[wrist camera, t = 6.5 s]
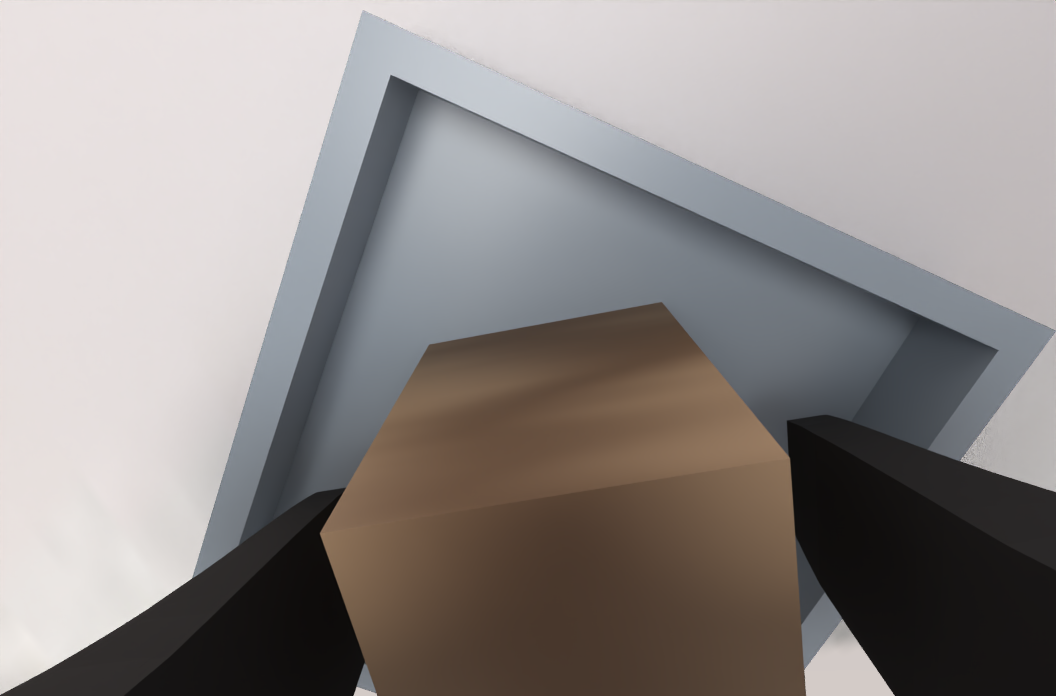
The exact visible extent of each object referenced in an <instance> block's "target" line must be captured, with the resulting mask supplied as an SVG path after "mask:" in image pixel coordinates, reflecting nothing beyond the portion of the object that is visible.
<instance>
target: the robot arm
mask: <svg viewBox="0 0 1056 696" xmlns="http://www.w3.org/2000/svg"><path fill="white" fill-rule="evenodd" d="M787 437H788V456H789V458H790V466H791V481H792V496H793V510H794V525H795V536H796V538H797V540H798V542H799V544H800V546H801V548H802V551H803V553H804V555H805V557H806V559H807V561H808V563H809V565H810V567H811V568H812V570H813V572H814V574H815V576H816V578H817V580H818V582H819V584H820V586H821V587H822V589H823V590H824V592H825V593H826V595H827V596H828V598H829V599H830V601H831V602H832V604H833V605H834V607H835V608H836V610H837V611H838V613H839V614H840V616H841V617H842V619H843V620H844V622H845V623H846V625H847V626H848V628H849V629H850V631H851V632H852V634H853V635H854V637H855V638H856V639H857V641H858V642H859V644H860V645H861V647H862V648H863V650H864V651H865V653H866V654H867V656H868V657H869V658H870V660H871V661H872V663H873V664H874V666H875V667H876V669H877V670H878V672H879V673H880V675H881V676H882V678H883V679H884V681H885V682H886V683H887V685H888V686H889V688H890V689H891V691H892V692H893V694H894V695H895V696H1056V492H1053V491H1050V490H1047V489H1043V488H1040V487H1037V486H1034V485H1031V484H1028V483H1024V482H1021V481H1018V480H1015V479H1012V478H1009V477H1005V476H1002V475H999V474H996V473H993V472H990V471H987V470H984V469H981V468H978V467H975V466H972V465H969V464H966V463H963V462H961V461H958V460H955V459H952V458H949V457H947V456H944V455H941V454H938V453H935V452H933V451H930V450H927V449H925V448H922V447H919V446H916V445H914V444H911V443H908V442H906V441H903V440H900V439H898V438H895V437H892V436H889V435H887V434H884V433H881V432H879V431H876V430H873V429H871V428H868V427H865V426H862V425H859V424H857V423H854V422H851V421H848V420H845V419H841V418H838V417H834V416H830V415H819V416H812V417H806V418H799V419H793V420H787ZM345 489H346V488H340V489H334V490H327V491H321V492H316V493H314V494H312V495H311V496H309V497H307V498H305V499H304V500H302V501H300V502H299V503H297V504H296V505H294V506H293V507H291V508H290V509H289V510H287V511H286V512H284V513H283V514H281V515H280V516H279V517H277V518H276V519H274V520H273V521H272V522H270V523H269V524H267V525H266V526H265V527H263V528H262V529H261V530H259V531H258V532H257V533H255V534H254V535H252V536H251V537H250V538H248V539H247V540H246V541H244V542H243V543H241V544H240V545H239V546H237V547H236V548H235V549H233V550H232V551H230V552H229V553H228V554H226V555H225V556H224V557H222V558H221V559H219V560H218V561H217V562H215V563H214V564H213V565H211V566H210V567H208V568H207V569H205V570H204V571H203V572H201V573H200V574H198V575H197V576H195V577H194V578H192V579H191V580H189V581H188V582H187V583H185V584H184V585H182V586H181V587H179V588H178V589H176V590H175V591H173V592H172V593H171V594H169V595H168V596H166V597H165V598H163V599H162V600H160V601H159V602H157V603H156V604H155V605H153V606H152V607H150V608H149V609H147V610H146V611H144V612H143V613H141V614H139V615H138V616H136V617H135V618H133V619H132V620H130V621H129V622H127V623H125V624H124V625H122V626H121V627H119V628H117V629H116V630H114V631H113V632H111V633H109V634H108V635H106V636H105V637H103V638H101V639H99V640H98V641H96V642H94V643H93V644H91V645H89V646H88V647H86V648H84V649H83V650H81V651H79V652H78V653H76V654H74V655H73V656H71V657H69V658H67V659H66V660H64V661H62V662H61V663H59V664H57V665H55V666H54V667H52V668H50V669H48V670H47V671H45V672H43V673H41V674H39V675H37V676H35V677H33V678H32V679H30V680H28V681H26V682H24V683H22V684H20V685H18V686H16V687H15V688H13V689H11V690H9V691H7V692H5V693H3V694H1V695H0V696H353V695H354V692H355V690H356V687H357V684H358V681H359V678H360V675H361V672H362V669H363V666H364V663H365V659H364V656H363V654H362V651H361V648H360V645H359V642H358V640H357V637H356V634H355V631H354V628H353V625H352V623H351V620H350V617H349V614H348V611H347V609H346V606H345V603H344V600H343V597H342V594H341V592H340V589H339V586H338V583H337V580H336V578H335V575H334V572H333V569H332V566H331V563H330V561H329V558H328V555H327V552H326V549H325V547H324V544H323V541H322V538H321V535H320V532H321V530H322V529H323V527H324V525H325V524H326V522H327V520H328V518H329V517H330V515H331V513H332V511H333V510H334V508H335V506H336V505H337V503H338V501H339V499H340V498H341V496H342V494H343V492H344V491H345Z"/></svg>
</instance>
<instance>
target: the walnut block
mask: <svg viewBox="0 0 1056 696" xmlns="http://www.w3.org/2000/svg"><path fill="white" fill-rule="evenodd" d="M320 535H321V538H322V541H323V544H324V547H325V549H326V552H327V555H328V558H329V561H330V563H331V566H332V569H333V572H334V575H335V578H336V580H337V583H338V586H339V589H340V592H341V594H342V597H343V600H344V603H345V606H346V609H347V611H348V614H349V617H350V620H351V623H352V625H353V628H354V631H355V634H356V637H357V640H358V642H359V645H360V648H361V651H362V654H363V656H364V659H365V662H366V665H367V668H368V670H369V673H370V676H371V679H372V682H373V685H374V687H375V690H376V693H377V696H806V690H805V675H804V660H803V645H802V630H801V615H800V600H799V585H798V570H797V555H796V540H795V525H794V510H793V496H792V481H791V466H790V458H789V456H788V455H787V454H786V453H785V451H784V450H783V449H782V448H781V447H780V445H779V444H778V443H777V442H776V440H775V439H774V438H773V437H772V436H771V434H770V433H769V432H768V431H767V430H766V428H765V427H764V426H763V425H762V423H761V422H760V421H759V420H758V419H757V417H756V416H755V415H754V414H753V412H752V411H751V410H750V409H749V408H748V406H747V405H746V404H745V403H744V401H743V400H742V399H741V398H740V397H739V395H738V394H737V393H736V392H735V391H734V389H733V388H732V387H731V386H730V384H729V383H728V382H727V381H726V380H725V378H724V377H723V376H722V375H721V373H720V372H719V371H718V370H717V369H716V367H715V366H714V365H713V364H712V362H711V361H710V360H709V359H708V358H707V356H706V355H705V354H704V353H703V352H702V350H701V349H700V348H699V347H698V345H697V344H696V343H695V342H694V341H693V339H692V338H691V337H690V336H689V334H688V333H687V332H686V331H685V330H684V328H683V327H682V326H681V325H680V324H679V322H678V321H677V320H676V319H675V317H674V316H673V315H672V314H671V313H670V311H669V310H668V309H667V308H666V306H665V305H664V304H663V303H662V302H659V303H653V304H648V305H642V306H637V307H631V308H626V309H621V310H615V311H610V312H604V313H599V314H593V315H588V316H582V317H577V318H571V319H566V320H560V321H555V322H550V323H544V324H539V325H533V326H528V327H522V328H517V329H511V330H506V331H500V332H495V333H489V334H484V335H479V336H473V337H468V338H462V339H457V340H451V341H446V342H440V343H435V344H429V346H428V347H427V349H426V351H425V353H424V354H423V356H422V358H421V359H420V361H419V363H418V365H417V366H416V368H415V370H414V372H413V373H412V375H411V377H410V378H409V380H408V382H407V384H406V385H405V387H404V389H403V391H402V392H401V394H400V396H399V397H398V399H397V401H396V403H395V404H394V406H393V408H392V410H391V411H390V413H389V415H388V416H387V418H386V420H385V422H384V423H383V425H382V427H381V429H380V430H379V432H378V434H377V435H376V437H375V439H374V441H373V442H372V444H371V446H370V448H369V449H368V451H367V453H366V454H365V456H364V458H363V460H362V461H361V463H360V465H359V467H358V468H357V470H356V472H355V473H354V475H353V477H352V479H351V480H350V482H349V484H348V486H347V487H346V489H345V491H344V492H343V494H342V496H341V498H340V499H339V501H338V503H337V505H336V506H335V508H334V510H333V511H332V513H331V515H330V517H329V518H328V520H327V522H326V524H325V525H324V527H323V529H322V530H321V532H320Z"/></svg>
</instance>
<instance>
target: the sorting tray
mask: <svg viewBox="0 0 1056 696" xmlns="http://www.w3.org/2000/svg"><path fill="white" fill-rule="evenodd" d="M659 302H662V303H663V304H664V305H665V306H666V308H667V309H668V310H669V311H670V313H671V314H672V315H673V316H674V317H675V319H676V320H677V321H678V322H679V324H680V325H681V326H682V327H683V328H684V330H685V331H686V332H687V333H688V334H689V336H690V337H691V338H692V339H693V341H694V342H695V343H696V344H697V345H698V347H699V348H700V349H701V350H702V352H703V353H704V354H705V355H706V356H707V358H708V359H709V360H710V361H711V362H712V364H713V365H714V366H715V367H716V369H717V370H718V371H719V372H720V373H721V375H722V376H723V377H724V378H725V380H726V381H727V382H728V383H729V384H730V386H731V387H732V388H733V389H734V391H735V392H736V393H737V394H738V395H739V397H740V398H741V399H742V400H743V401H744V403H745V404H746V405H747V406H748V408H749V409H750V410H751V411H752V412H753V414H754V415H755V416H756V417H757V419H758V420H759V421H760V422H761V423H762V425H763V426H764V427H765V428H766V430H767V431H768V432H769V433H770V434H771V436H772V437H773V438H774V439H775V440H776V442H777V443H778V444H779V445H780V447H781V448H782V449H783V450H784V451H785V453H786V454H787V455H788V437H787V420H793V419H799V418H806V417H812V416H819V415H830V416H834V417H838V418H841V419H845V420H848V421H851V422H854V423H857V424H859V425H862V426H865V427H868V428H871V429H873V430H876V431H879V432H881V433H884V434H887V435H889V436H892V437H895V438H898V439H900V440H903V441H906V442H908V443H911V444H914V445H916V446H919V447H922V448H925V449H927V450H930V451H933V452H935V453H938V454H941V455H944V456H947V457H949V458H952V459H955V460H958V461H960V460H961V458H962V457H963V456H964V454H965V453H966V452H967V450H968V449H969V448H970V446H971V445H972V443H973V442H974V441H975V439H976V438H977V437H978V435H979V434H980V433H981V431H982V430H983V429H984V427H985V426H986V425H987V423H988V422H989V421H990V419H991V418H992V417H993V415H994V414H995V413H996V411H997V410H998V408H999V407H1000V406H1001V404H1002V403H1003V402H1004V400H1005V399H1006V398H1007V396H1008V395H1009V394H1010V392H1011V391H1012V390H1013V388H1014V387H1015V386H1016V384H1017V383H1018V382H1019V380H1020V379H1021V378H1022V376H1023V375H1024V374H1025V372H1026V371H1027V369H1028V368H1029V367H1030V365H1031V364H1032V363H1033V361H1034V360H1035V359H1036V357H1037V356H1038V355H1039V353H1040V352H1041V351H1042V349H1043V348H1044V347H1045V345H1046V344H1047V343H1048V341H1049V340H1050V339H1051V337H1052V336H1053V334H1054V333H1055V332H1056V331H1055V330H1053V329H1051V328H1048V327H1046V326H1044V325H1042V324H1040V323H1038V322H1035V321H1033V320H1031V319H1029V318H1027V317H1025V316H1023V315H1020V314H1018V313H1016V312H1014V311H1012V310H1010V309H1007V308H1005V307H1003V306H1001V305H999V304H997V303H994V302H992V301H990V300H988V299H986V298H984V297H982V296H979V295H977V294H975V293H973V292H971V291H969V290H966V289H964V288H962V287H960V286H958V285H956V284H953V283H951V282H949V281H947V280H945V279H943V278H940V277H938V276H936V275H934V274H932V273H930V272H928V271H925V270H923V269H921V268H919V267H917V266H915V265H912V264H910V263H908V262H906V261H904V260H902V259H899V258H897V257H895V256H893V255H891V254H889V253H887V252H884V251H882V250H880V249H878V248H876V247H874V246H871V245H869V244H867V243H865V242H863V241H861V240H858V239H856V238H854V237H852V236H850V235H848V234H845V233H843V232H841V231H839V230H837V229H835V228H833V227H830V226H828V225H826V224H824V223H822V222H820V221H817V220H815V219H813V218H811V217H809V216H807V215H804V214H802V213H800V212H798V211H796V210H794V209H791V208H789V207H787V206H785V205H783V204H781V203H779V202H776V201H774V200H772V199H770V198H768V197H766V196H763V195H761V194H759V193H757V192H755V191H753V190H750V189H748V188H746V187H744V186H742V185H740V184H738V183H735V182H733V181H731V180H729V179H727V178H725V177H722V176H720V175H718V174H716V173H714V172H712V171H709V170H707V169H705V168H703V167H701V166H699V165H696V164H694V163H692V162H690V161H688V160H686V159H684V158H681V157H679V156H677V155H675V154H673V153H671V152H668V151H666V150H664V149H662V148H660V147H658V146H655V145H653V144H651V143H649V142H647V141H645V140H643V139H640V138H638V137H636V136H634V135H632V134H630V133H627V132H625V131H623V130H621V129H619V128H617V127H614V126H612V125H610V124H608V123H606V122H604V121H601V120H599V119H597V118H595V117H593V116H591V115H589V114H586V113H584V112H582V111H580V110H578V109H576V108H573V107H571V106H569V105H567V104H565V103H563V102H560V101H558V100H556V99H554V98H552V97H550V96H547V95H545V94H543V93H541V92H539V91H537V90H535V89H532V88H530V87H528V86H526V85H524V84H522V83H519V82H517V81H515V80H513V79H511V78H509V77H506V76H504V75H502V74H500V73H498V72H496V71H494V70H491V69H489V68H487V67H485V66H483V65H481V64H478V63H476V62H474V61H472V60H470V59H468V58H465V57H463V56H461V55H459V54H457V53H455V52H452V51H450V50H448V49H446V48H444V47H442V46H440V45H437V44H435V43H433V42H431V41H429V40H427V39H424V38H422V37H420V36H418V35H416V34H414V33H411V32H409V31H407V30H405V29H403V28H401V27H398V26H396V25H394V24H392V23H390V22H388V21H386V20H383V19H381V18H379V17H377V16H375V15H373V14H370V13H368V12H366V11H364V10H363V11H362V14H361V18H360V21H359V24H358V28H357V31H356V34H355V38H354V41H353V44H352V48H351V51H350V54H349V58H348V61H347V64H346V68H345V71H344V74H343V78H342V81H341V84H340V88H339V91H338V94H337V98H336V101H335V104H334V108H333V111H332V114H331V118H330V121H329V124H328V128H327V131H326V134H325V138H324V141H323V144H322V148H321V151H320V154H319V158H318V161H317V164H316V168H315V171H314V174H313V178H312V181H311V184H310V188H309V191H308V194H307V198H306V201H305V204H304V208H303V211H302V214H301V218H300V221H299V224H298V228H297V231H296V234H295V238H294V241H293V244H292V248H291V251H290V254H289V258H288V261H287V264H286V268H285V271H284V274H283V278H282V281H281V284H280V288H279V291H278V294H277V298H276V301H275V304H274V308H273V311H272V314H271V318H270V321H269V324H268V328H267V331H266V334H265V338H264V341H263V344H262V348H261V351H260V354H259V358H258V361H257V364H256V368H255V371H254V374H253V378H252V381H251V384H250V388H249V391H248V394H247V398H246V401H245V404H244V408H243V411H242V414H241V418H240V421H239V424H238V428H237V431H236V434H235V438H234V441H233V444H232V448H231V451H230V454H229V458H228V461H227V464H226V468H225V471H224V474H223V478H222V481H221V484H220V488H219V491H218V494H217V498H216V501H215V504H214V508H213V511H212V514H211V518H210V521H209V524H208V528H207V531H206V534H205V538H204V541H203V544H202V548H201V551H200V554H199V558H198V561H197V564H196V568H195V571H194V574H193V578H194V577H195V576H197V575H198V574H200V573H201V572H203V571H204V570H205V569H207V568H208V567H210V566H211V565H213V564H214V563H215V562H217V561H218V560H219V559H221V558H222V557H224V556H225V555H226V554H228V553H229V552H230V551H232V550H233V549H235V548H236V547H237V546H239V545H240V544H241V543H243V542H244V541H246V540H247V539H248V538H250V537H251V536H252V535H254V534H255V533H257V532H258V531H259V530H261V529H262V528H263V527H265V526H266V525H267V524H269V523H270V522H272V521H273V520H274V519H276V518H277V517H279V516H280V515H281V514H283V513H284V512H286V511H287V510H289V509H290V508H291V507H293V506H294V505H296V504H297V503H299V502H300V501H302V500H304V499H305V498H307V497H309V496H311V495H312V494H314V493H316V492H321V491H327V490H334V489H340V488H346V487H347V486H348V484H349V482H350V480H351V479H352V477H353V475H354V473H355V472H356V470H357V468H358V467H359V465H360V463H361V461H362V460H363V458H364V456H365V454H366V453H367V451H368V449H369V448H370V446H371V444H372V442H373V441H374V439H375V437H376V435H377V434H378V432H379V430H380V429H381V427H382V425H383V423H384V422H385V420H386V418H387V416H388V415H389V413H390V411H391V410H392V408H393V406H394V404H395V403H396V401H397V399H398V397H399V396H400V394H401V392H402V391H403V389H404V387H405V385H406V384H407V382H408V380H409V378H410V377H411V375H412V373H413V372H414V370H415V368H416V366H417V365H418V363H419V361H420V359H421V358H422V356H423V354H424V353H425V351H426V349H427V347H428V346H429V344H435V343H440V342H446V341H451V340H457V339H462V338H468V337H473V336H479V335H484V334H489V333H495V332H500V331H506V330H511V329H517V328H522V327H528V326H533V325H539V324H544V323H550V322H555V321H560V320H566V319H571V318H577V317H582V316H588V315H593V314H599V313H604V312H610V311H615V310H621V309H626V308H631V307H637V306H642V305H648V304H653V303H659ZM795 540H796V555H797V570H798V585H799V600H800V615H801V630H802V645H803V660H804V670H805V668H806V667H807V665H808V664H809V663H810V661H811V660H812V658H813V657H814V656H815V655H816V653H817V652H818V651H819V649H820V648H821V647H822V645H823V644H824V643H825V641H826V640H827V639H828V637H829V636H830V635H831V633H832V632H833V630H834V629H835V628H836V626H837V625H838V624H839V622H840V621H841V620H842V617H841V616H840V614H839V613H838V611H837V610H836V608H835V607H834V605H833V604H832V602H831V601H830V599H829V598H828V596H827V595H826V593H825V592H824V590H823V589H822V587H821V586H820V584H819V582H818V580H817V578H816V576H815V574H814V572H813V570H812V568H811V567H810V565H809V563H808V561H807V559H806V557H805V555H804V553H803V551H802V548H801V546H800V544H799V542H798V540H797V538H796V536H795ZM357 687H360V688H362V689H365V690H369V691H371V692H375V693H376V690H375V687H374V685H373V682H372V679H371V676H370V673H369V670H368V668H367V665H366V662H365V663H364V666H363V669H362V672H361V675H360V678H359V681H358V684H357Z"/></svg>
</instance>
